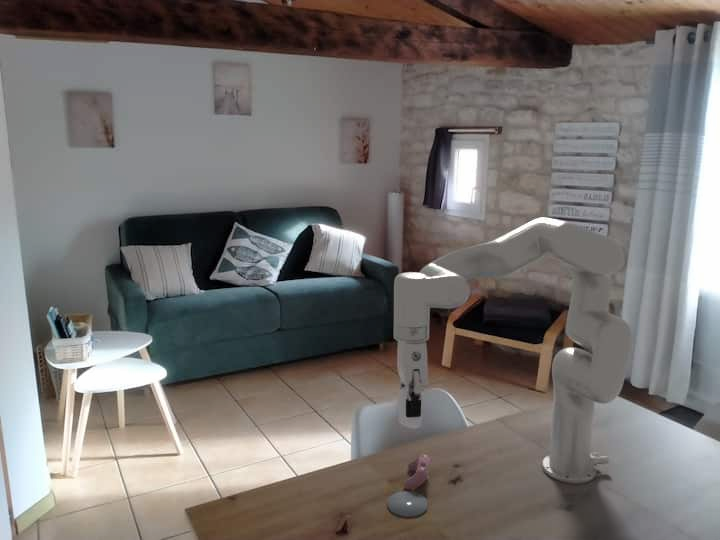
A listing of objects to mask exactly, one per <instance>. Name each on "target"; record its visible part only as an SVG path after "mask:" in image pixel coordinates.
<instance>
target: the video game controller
mask: <svg viewBox="0 0 720 540" xmlns="http://www.w3.org/2000/svg"><path fill="white" fill-rule="evenodd" d="M431 460H432V457H431V456H429V455H427V454H424V453H422V454H420V455H419V456H418V457H416V458H415V459H413V460H411V461H409V463H408V464H407V469H408V470H409V471H410V472H415V473H414V474H413V475H412V476H410V477H409V478H407V479H406V480H405V481H403V487H404V489H406V490H414V489H416V488H417V487H419V486H420V485H422V484H424V483H425V481H428V480H430V475H429V471H430V470H429V466H430V462H431Z"/></svg>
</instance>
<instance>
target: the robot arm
mask: <svg viewBox="0 0 720 540" xmlns="http://www.w3.org/2000/svg"><path fill="white" fill-rule="evenodd" d="M624 255H625V254H624V249H623V247H622V246H621V244H620V243H619V242H618V241H616V240H615V239H613V238H611V237H608V236H606V235H604V234H600V233H599V232H596V231H593V230H590V229H588V228H585V227H583V226H581V225H579V224H577V223H575V222H570V221H566V220H562V219H556V218H551V217H537V218H534V219H532V220H531V221H528V222H526V223H524V224H522V225H521V226H518V227H517V228H515V229H512V230H511V231H509V232H506V233H505V234H503V235H501V236H499V237H497V238H495V239H493V240H491V241H487V242H485V243H479V244H475V245H472V246H469V247H465V248H461V249H459V250H455V251H452V252H449V253H447V254H445V255H443V256H440V257H439V258H436V259H435V260H433V261H431V262H429V263H428V264H426V265H425V266H423V267H422V268H421V269H420V271H419V272H418V271H417V272H416V271H415V272H413V271H408V272H402V273H399V274H397V275H396V276H395V278H394V281H393V282H394V283H393V339H394V340H395V341H397V352H396V353H397V354H396V355H397V358H396V363H397V364H396V365H397V373H398V375H399V377H400V383H399V384H400V387H399V390H400V389H401V388H403V387H405V386H406V387H407V398H408V399H406V417H407V418H409V417H420V416H421V394H422V387H425V388H426V387H428V386H429V370H428V366H429V365H428V349H427V347H428V346H427V341H429V339H430V311H431V308H435V309H456V308H458V307H460V306H463V305H464V304H465V303H466V302H467V301H468V299H469V297H470V295H471V289H470V288H471V287H470V284H469V282H468V280H472V279H480V278H483V279H484V278H489V279H490V278H491V279H495V278H498V279H499V278H506V277H509V276H512V275H514V274H515V273H517V272H519V271H521V270H523V269H525V268H527V267H528V266H530V265H533V264H534V263H537V262H538V261H540V260H541V259H544V258H550V259H552V260H556V261H559V262H562V264H564V266H565V267H566V269H567V270H568V271H569V273H570V276H571V279H572V280H571V281H572V290H571V297H570V301H569V306H568V307H569V308H568V312H567V317H566V323H565V333H566V336H567V338H568V339H569V340H570V341H572V342H573V343H575V344H577V345H579V346H581V347H583V348H585V349H588V350H589V351H591V352H592V353H590V352H588V351H586V350H584V349H582V348H577V347H574V346H571V347H569V346H568V347H565V348H562V349H561V350H559V351H558V352H557V353H556V354H555V356H554V357H553V359H552V362H551V376H552V377H551V379H552V384H553V404H552V414H551V415H552V416H551V417H552V418H551V428H550V429H551V430H550V442H549V455H547V456H546V457H544V458H543V460H542V463H541V464H542V465H541V467H542V470H543V472H545V473H546V474H547V475H548V476H550V477H551V478H553V479H555V480H557V481H560V482H563V483H569V484H585V483H589V482H590V481H593V480H594V479H595V476H596V468H595V467H596V466H597V465H608V464H609V457H608V456H607V455H600V456H599V453H598V452H597V451H596V452H591V451H592V439H593V427H594V417H595V409H596V408H595V403H597V404H600V405H601V404H604V405H605V404H610V403H612V402H613V401H615V400H616V399H617V397H618V396H619V395H620V393H621V391H622V389H623V386H624V382H625V380H626V379H625V378H626V373H627V369H628V363H629V360H630V355H631V350H632V344H633V336H632V335H633V334H632V331H631V327H630V326H629V324H628V322H627V321H626V320H625V319H623V318H622V317H620V316H618V315H615V314H613V313H610V312H609V311H610V310H609V308H610V307H609V306H610V301H611V293H612V292H611V290H612V282H611V278H610V277H611V276H613V275H614V274H615V273H617V272H619V270H620V269H621V267H622V266H623V263H624V258H625V257H624ZM409 383H413V384H414V385H410V384H409ZM413 388H414V391H412V392H411V389H413Z"/></svg>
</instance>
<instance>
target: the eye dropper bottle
mask: <svg viewBox="0 0 720 540" xmlns="http://www.w3.org/2000/svg"><path fill="white" fill-rule="evenodd" d="M409 384H410V385H414V384H413V383H409ZM412 391H414V388H413V389H411V392H412ZM397 399H398V402H397V404H398V405H397V406H398V407H397V409H398V410H397V421H398V422H399V424H400V425H402V426H404V427H406V428H408V429H412V430H417V429H419V428H421V427H422V426H423V394H422V393H421V416H420V417H409V418H407V417H406V399H408V398H407V387H406V386H405V387H403V388H401V389H400V388H399V390H398V398H397Z"/></svg>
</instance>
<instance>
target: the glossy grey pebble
mask: <svg viewBox="0 0 720 540" xmlns="http://www.w3.org/2000/svg"><path fill="white" fill-rule="evenodd" d="M387 507H388V510H390V512H391V513H393V514H395V515H398V516H400V517H404V518H414V517H415V518H416V517H419V516H421V515H423V514H424V513H425V512H426V511H427V509H428V507H429V506H428V500H427V499H426V497H425V496H423V495H422V494H420V493H418V492H414V491H409V490H407V491H406V490H404V491H403V490H402V491H398V492H394V493H393V494H392V495H389V497H388V499H387Z"/></svg>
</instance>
